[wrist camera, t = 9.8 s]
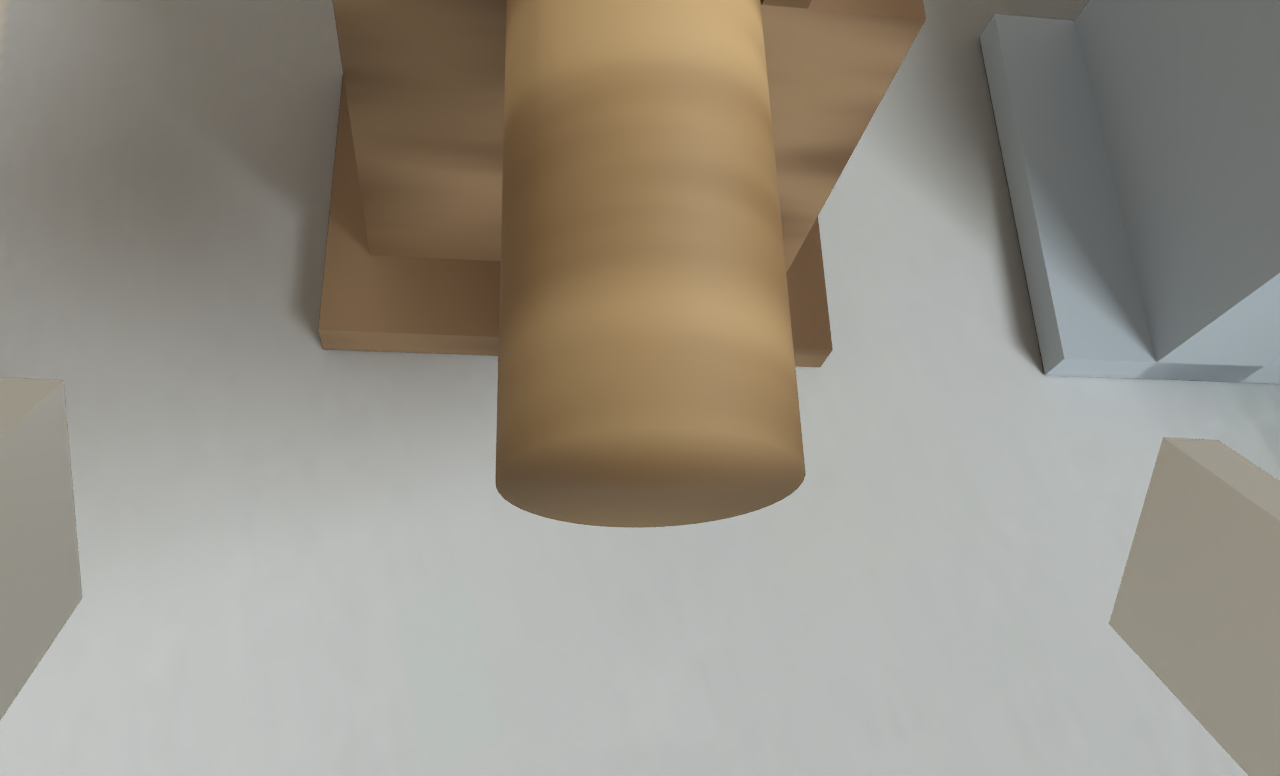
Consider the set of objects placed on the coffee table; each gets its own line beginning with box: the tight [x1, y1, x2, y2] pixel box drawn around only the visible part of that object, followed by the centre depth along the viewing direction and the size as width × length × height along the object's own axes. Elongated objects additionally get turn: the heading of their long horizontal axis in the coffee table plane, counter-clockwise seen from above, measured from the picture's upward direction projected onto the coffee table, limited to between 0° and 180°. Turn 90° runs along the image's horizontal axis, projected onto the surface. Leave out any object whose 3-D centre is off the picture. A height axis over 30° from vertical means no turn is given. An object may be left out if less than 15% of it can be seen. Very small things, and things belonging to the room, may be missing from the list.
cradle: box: [979, 0, 1280, 384], centre depth 27 cm, size 8×11×9 cm
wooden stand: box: [318, 0, 926, 367], centre depth 23 cm, size 12×8×11 cm, turn 92°
